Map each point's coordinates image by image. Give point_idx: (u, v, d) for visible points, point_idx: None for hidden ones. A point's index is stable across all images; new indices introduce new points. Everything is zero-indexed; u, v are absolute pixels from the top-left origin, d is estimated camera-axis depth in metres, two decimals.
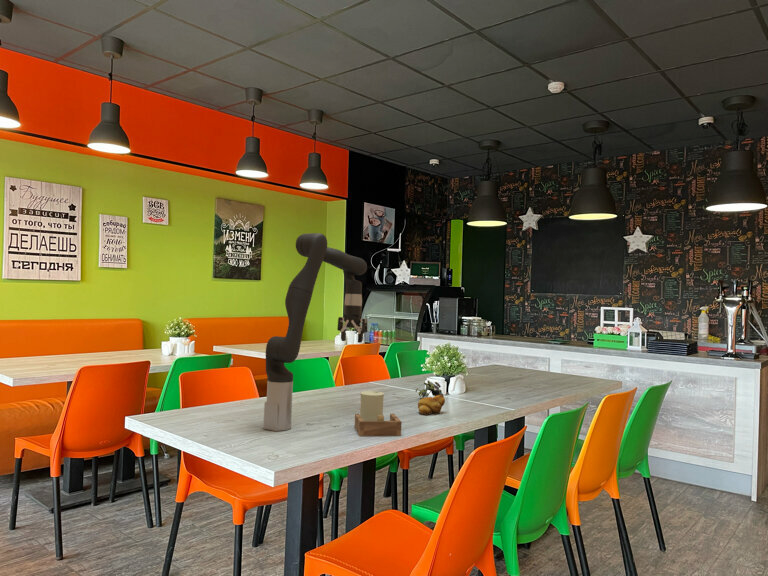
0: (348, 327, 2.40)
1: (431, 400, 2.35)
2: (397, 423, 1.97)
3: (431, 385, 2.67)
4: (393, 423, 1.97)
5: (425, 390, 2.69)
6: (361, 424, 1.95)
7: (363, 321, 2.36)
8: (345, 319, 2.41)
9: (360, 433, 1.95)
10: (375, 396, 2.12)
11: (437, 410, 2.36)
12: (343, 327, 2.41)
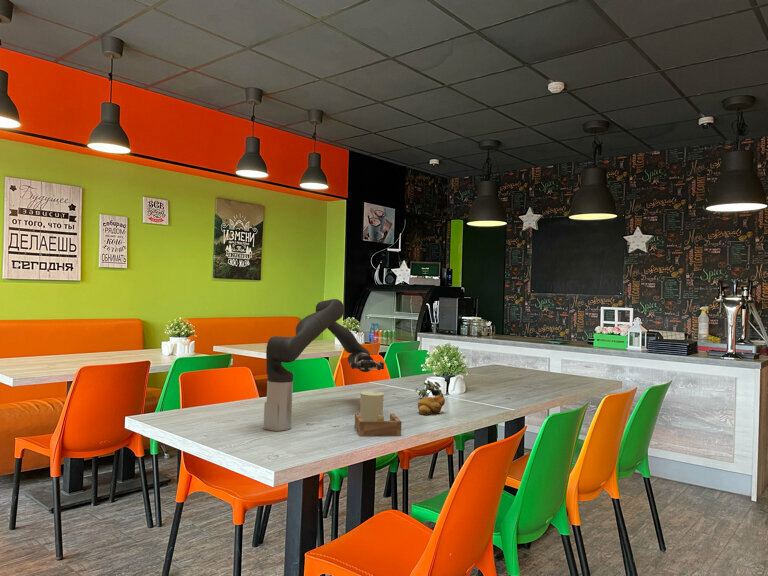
0: (364, 362, 2.31)
1: (431, 400, 2.35)
2: (397, 423, 1.97)
3: (431, 385, 2.67)
4: (393, 423, 1.97)
5: (425, 390, 2.69)
6: (361, 424, 1.95)
7: None
8: None
9: (360, 433, 1.95)
10: (375, 396, 2.12)
11: (437, 410, 2.35)
12: (359, 361, 2.31)
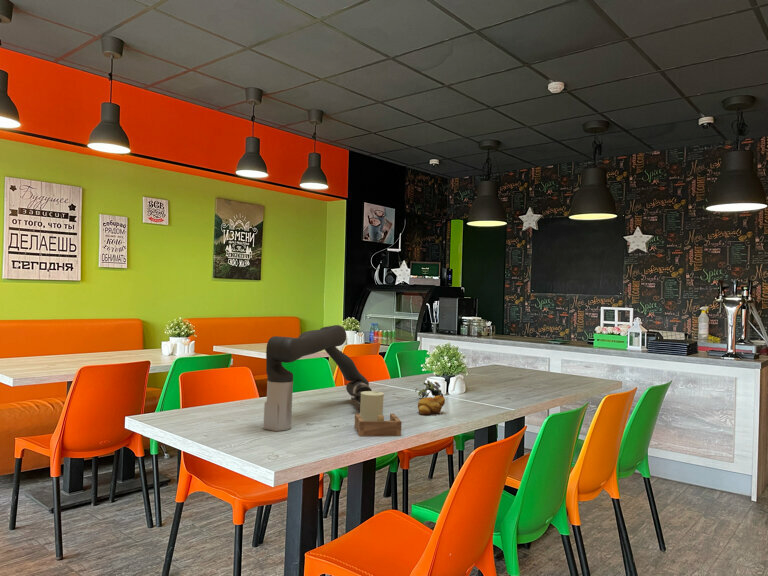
0: None
1: (431, 400, 2.35)
2: (397, 423, 1.97)
3: (431, 385, 2.67)
4: (393, 423, 1.97)
5: (425, 390, 2.69)
6: (361, 424, 1.95)
7: None
8: (358, 393, 2.35)
9: (360, 433, 1.95)
10: (375, 396, 2.12)
11: (436, 410, 2.35)
12: None
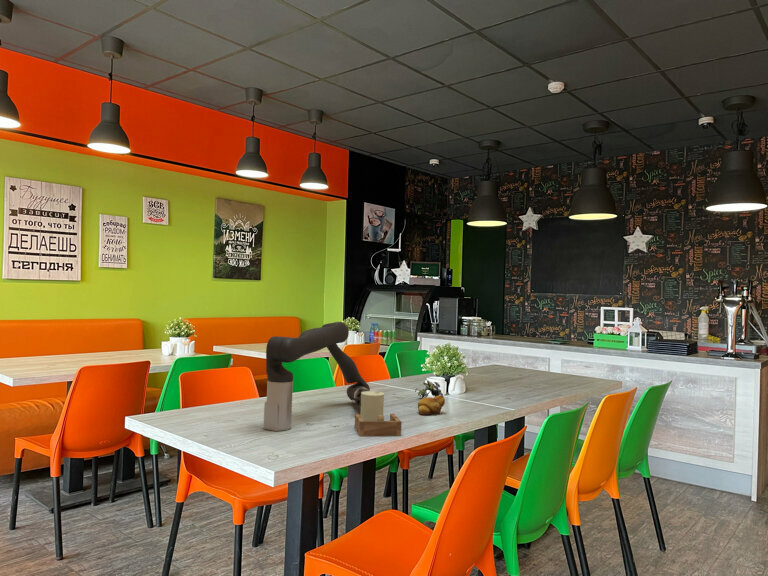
0: None
1: (430, 400, 2.34)
2: (397, 423, 1.97)
3: (431, 385, 2.67)
4: (393, 423, 1.97)
5: (425, 390, 2.69)
6: (361, 424, 1.95)
7: None
8: (359, 397, 2.30)
9: (360, 433, 1.95)
10: (375, 396, 2.11)
11: (436, 410, 2.35)
12: None
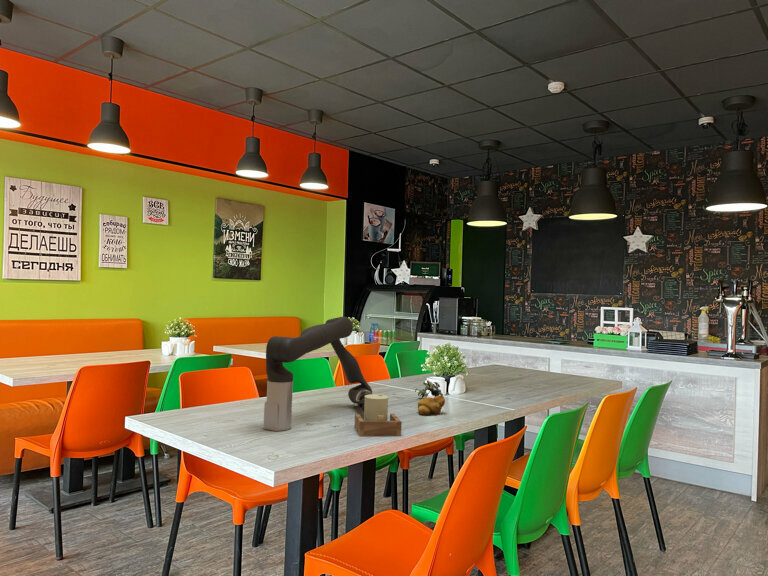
0: None
1: (430, 400, 2.34)
2: (397, 423, 1.97)
3: (430, 385, 2.67)
4: (393, 423, 1.97)
5: (424, 390, 2.69)
6: (361, 424, 1.95)
7: None
8: (361, 400, 2.23)
9: (360, 433, 1.95)
10: (380, 400, 2.05)
11: (436, 411, 2.34)
12: None
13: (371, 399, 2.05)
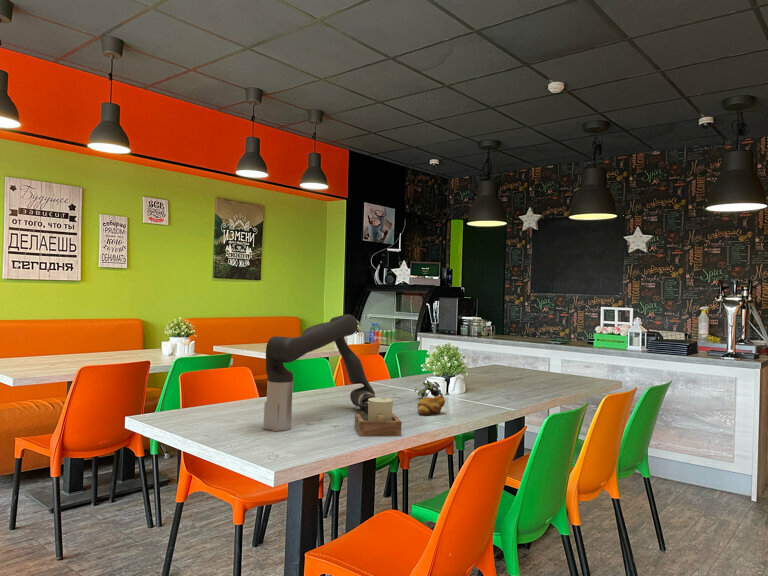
0: None
1: (430, 401, 2.34)
2: (397, 423, 1.97)
3: (430, 385, 2.67)
4: (393, 423, 1.97)
5: (424, 390, 2.69)
6: (361, 424, 1.95)
7: None
8: (363, 403, 2.17)
9: (360, 433, 1.95)
10: (385, 403, 1.99)
11: (436, 411, 2.34)
12: None
13: (376, 402, 1.99)
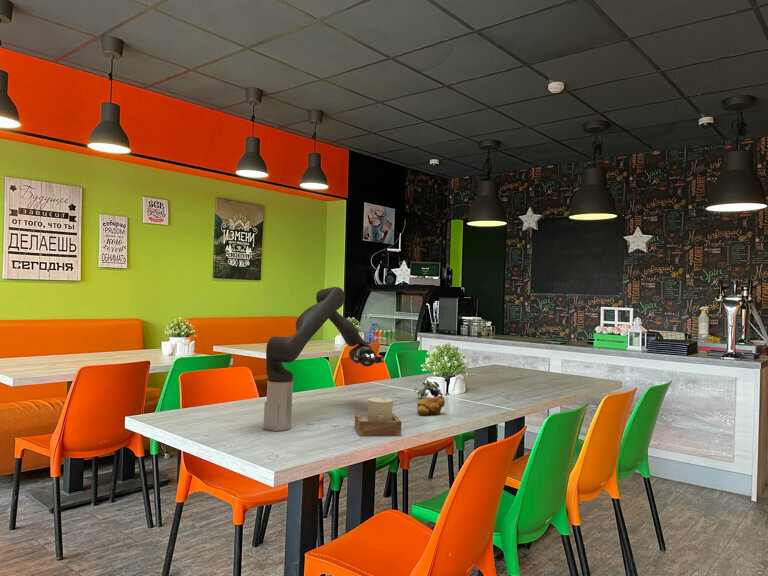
0: (370, 356, 2.27)
1: (430, 401, 2.33)
2: (397, 423, 1.97)
3: None
4: (393, 423, 1.97)
5: (424, 390, 2.69)
6: (361, 424, 1.95)
7: (382, 356, 2.28)
8: (361, 355, 2.29)
9: (360, 433, 1.95)
10: (385, 403, 1.99)
11: (436, 411, 2.33)
12: (367, 355, 2.25)
13: (376, 402, 1.99)
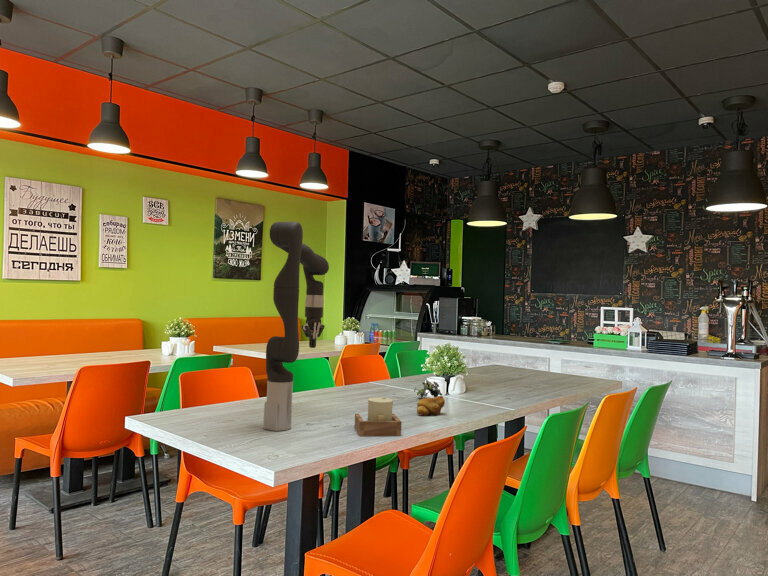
0: None
1: (429, 401, 2.33)
2: (397, 423, 1.97)
3: (430, 385, 2.68)
4: (393, 423, 1.97)
5: (424, 390, 2.69)
6: (361, 424, 1.95)
7: (323, 327, 2.34)
8: (311, 322, 2.27)
9: (360, 433, 1.95)
10: (385, 403, 1.99)
11: (435, 411, 2.33)
12: (314, 332, 2.28)
13: (376, 402, 1.99)
